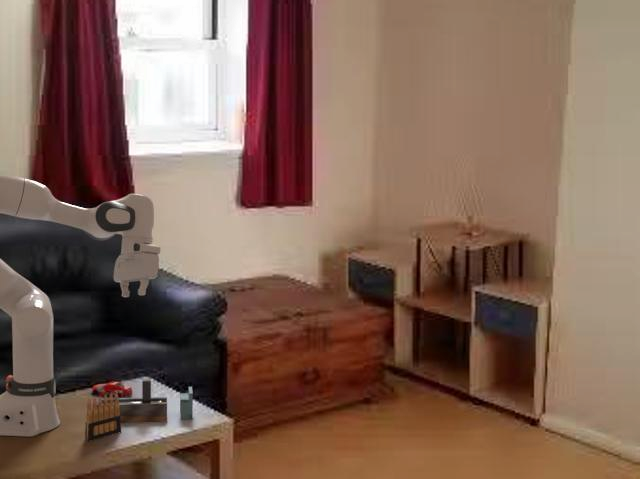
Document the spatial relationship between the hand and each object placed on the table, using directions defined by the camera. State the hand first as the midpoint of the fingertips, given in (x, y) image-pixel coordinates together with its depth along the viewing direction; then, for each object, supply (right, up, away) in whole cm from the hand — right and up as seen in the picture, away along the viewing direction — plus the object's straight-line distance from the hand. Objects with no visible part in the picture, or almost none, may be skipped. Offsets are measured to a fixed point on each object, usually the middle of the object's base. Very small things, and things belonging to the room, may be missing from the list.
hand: (133, 296), depth 286 cm
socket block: (+14, -37, +10) cm, 40 cm away
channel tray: (-2, -37, +7) cm, 37 cm away
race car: (-12, -33, +26) cm, 44 cm away
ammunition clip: (-7, -39, -8) cm, 41 cm away
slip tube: (-1, -34, +7) cm, 35 cm away
